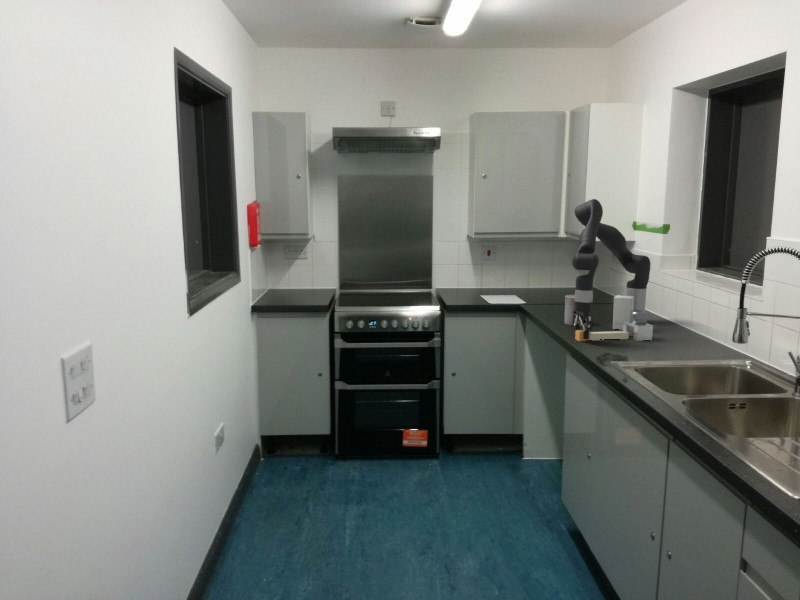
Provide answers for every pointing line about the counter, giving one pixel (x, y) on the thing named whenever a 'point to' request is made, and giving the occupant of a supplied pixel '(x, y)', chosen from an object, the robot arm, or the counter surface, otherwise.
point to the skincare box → (622, 310)
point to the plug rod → (602, 335)
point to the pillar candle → (569, 309)
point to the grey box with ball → (638, 326)
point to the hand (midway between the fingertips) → (581, 336)
